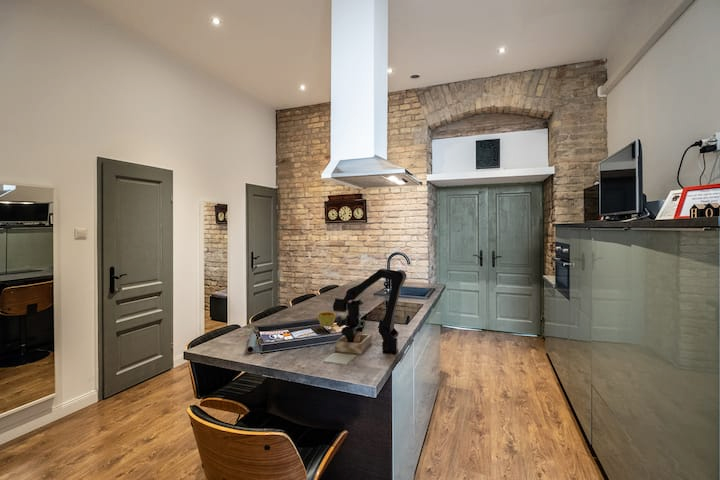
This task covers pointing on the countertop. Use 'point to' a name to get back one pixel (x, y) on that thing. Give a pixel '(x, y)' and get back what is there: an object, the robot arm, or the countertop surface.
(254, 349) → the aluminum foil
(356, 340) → the terracotta pot
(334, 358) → the sage tile
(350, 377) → the countertop surface
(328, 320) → the plant pot
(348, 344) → the cold frame
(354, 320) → the robot arm
